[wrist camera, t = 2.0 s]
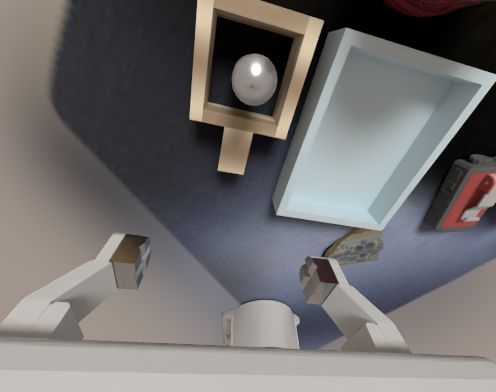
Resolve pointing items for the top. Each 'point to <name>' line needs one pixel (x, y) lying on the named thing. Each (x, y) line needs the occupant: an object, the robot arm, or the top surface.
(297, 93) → the wooden frame with handle
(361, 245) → the ceramic fragment
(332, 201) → the plastic tray
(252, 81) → the steel stake
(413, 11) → the canister
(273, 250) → the top surface
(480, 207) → the walkie-talkie
